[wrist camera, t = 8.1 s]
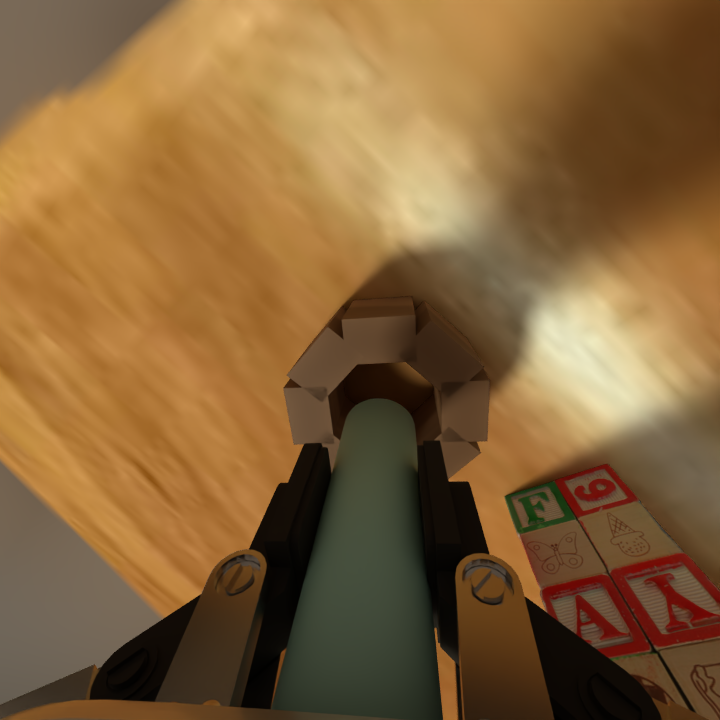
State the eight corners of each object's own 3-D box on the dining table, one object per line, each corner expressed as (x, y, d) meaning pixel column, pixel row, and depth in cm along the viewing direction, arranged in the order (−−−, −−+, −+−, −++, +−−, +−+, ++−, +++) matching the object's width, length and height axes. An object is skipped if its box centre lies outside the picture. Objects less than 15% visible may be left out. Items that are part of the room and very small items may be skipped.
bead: (472, 292, 17) (493, 309, 14) (469, 445, 20) (484, 494, 17) (297, 304, 18) (271, 324, 15) (319, 448, 22) (302, 494, 18)
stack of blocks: (686, 679, 26) (914, 1039, 14) (597, 693, 27) (739, 1027, 16) (606, 459, 20) (882, 770, 9) (499, 493, 22) (612, 793, 10)
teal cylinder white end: (415, 395, 14) (536, 1465, 2) (417, 460, 15) (504, 1399, 3) (339, 398, 14) (44, 1306, 2) (346, 460, 15) (173, 1299, 3)
